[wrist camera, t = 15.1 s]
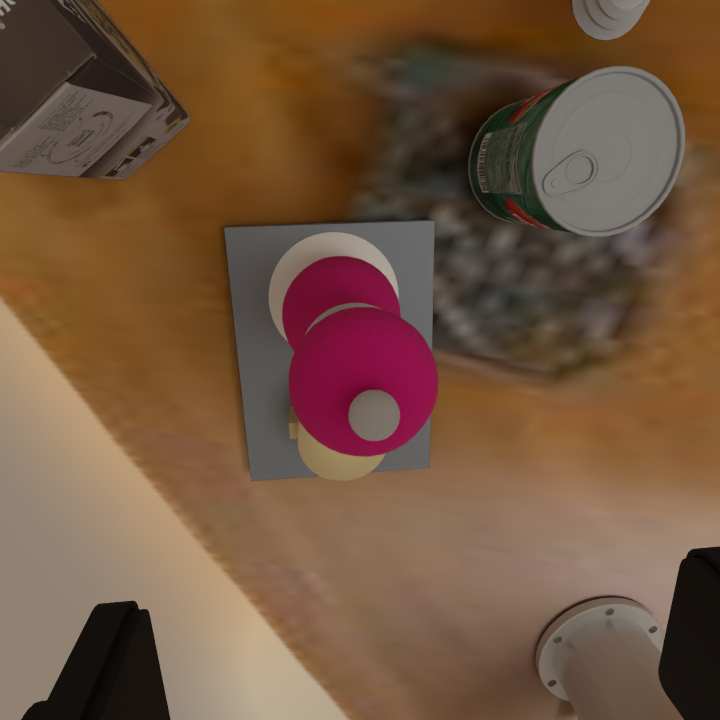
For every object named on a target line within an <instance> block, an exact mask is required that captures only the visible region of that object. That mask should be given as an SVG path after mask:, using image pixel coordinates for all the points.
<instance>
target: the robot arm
mask: <svg viewBox="0 0 720 720" xmlns="http://www.w3.org/2000/svg"><path fill="white" fill-rule="evenodd" d="M663 641H664V643H663ZM535 657H536V668H537V672H538V674H539V676H540V678H541V680H542V682H543V684H544V686H545V687H546V688H547V690H548V691H549V692H551V693H552V694H553V695H554V696H556V697H558V698H560V699H562V700H564V701H568V702H570V703H571V705H572V706H573V708H574V710H575V712H576V714H577V716H578V719H579V720H720V547H709V548H698V549H692V550H691V551H689V552H688V554H687V557H686V559H683V560H682V561H681V564H680V567H679V572H678V577H677V581H676V586H675V591H674V596H673V601H672V605H671V610H670V615H669V620H668V624H667V629H666V634H665V639H663V632H662V629H661V627H660V625H659V623H658V621H657V620H656V619H655V618H654V616H653V615H652V614H651V612H649V611H648V610H647V609H646V608H645V607H644V606H642V605H641V604H639V603H637V602H635V601H631V600H628V599H624V598H600V599H596V600H591V601H588V602H585V603H583V604H580V605H577V606H576V607H574V608H572V609H570V610H568V611H567V612H565V613H564V614H563V615H561V616H560V617H558V618H557V619H556V620H555V621H554V622H553V623H552V624H551V625H550V626H549V627H548V629H547V630H546V632H545V633H544V634H543V636H542V638H541V640H540V642H539V644H538V647H537V651H536V656H535ZM21 720H170V715H169V710H168V705H167V700H166V695H165V690H164V685H163V680H162V675H161V670H160V665H159V660H158V655H157V649H156V645H155V640H154V634H153V629H152V624H151V619H150V615H149V611H148V610H147V609H142V610H139V608H138V605H137V603H136V602H135V601H125V602H114V603H103V604H98V605H97V606H95V608H94V609H93V611H92V612H91V615H90V616H89V618H88V620H87V622H86V624H85V626H84V628H83V630H82V632H81V634H80V636H79V638H78V640H77V642H76V644H75V646H74V648H73V650H72V652H71V654H70V656H69V658H68V660H67V662H66V664H65V666H64V668H63V670H62V672H61V674H60V676H59V678H58V680H57V682H56V684H55V686H54V688H53V690H52V692H51V694H50V696H49V698H48V699H47V701H40V702H37V703H34V704H33V705H32V706H31V707H30V708H29V709H28V710H27V712H26V713H25V715H24V716H23V718H22V719H21Z"/></svg>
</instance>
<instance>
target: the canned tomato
mask: <svg viewBox="0 0 720 720" xmlns="http://www.w3.org/2000/svg"><path fill="white" fill-rule="evenodd" d="M684 148H685V127H684V122H683V117H682V113H681V110H680V108H679V106H678V103H677V101H676V99H675V97H674V96H673V94H672V93H671V91H670V90H669V89H668V87H667V86H666V85H665V84H664V83H663V82H661V81H660V80H659V79H658V78H657V77H656V76H654V75H652V74H650V73H648V72H646V71H644V70H642V69H638V68H633V67H629V66H611V67H607V68H602V69H598V70H595V71H592V72H590V73H588V74H586V75H584V76H582V77H579V78H576V79H574V80H572V81H569V82H567V83H564V84H561V85H559V86H556V87H554V88H552V89H548V90H546V91H543V92H541V93H538V94H536V95H534V96H531V97H529V98H526V99H524V100H521V101H519V102H516V103H511V104H509V105H507V106H505V107H503V108H501V109H500V110H498V111H497V112H496V113H494V114H493V115H491V116H490V117H489V118H488V120H487V121H486V122H485V123H484V124H483V125H482V126H481V128H480V130H479V131H478V133H477V134H476V136H475V138H474V141H473V143H472V146H471V149H470V154H469V158H468V176H469V183H470V186H471V189H472V191H473V194H474V196H475V197H476V199H477V201H478V202H479V204H480V205H481V206H482V207H483V208H484V209H485V210H486V211H487V212H489V213H490V214H491V215H493V216H494V217H496V218H499V219H501V220H503V221H508V222H513V223H521V224H527V225H532V226H538V227H543V228H549V229H554V230H560V231H565V232H571V233H576V234H578V235H584V236H589V237H601V236H610V235H614V234H618V233H622V232H624V231H626V230H628V229H630V228H632V227H635V226H636V225H638V224H639V223H640V222H642V221H643V220H645V219H646V218H648V217H649V216H650V215H651V214H652V213H653V212H654V211H655V210H656V209H657V208H658V207H659V206H660V205H661V203H662V202H663V201H664V199H665V198H666V196H667V195H668V194H669V192H670V190H671V188H672V186H673V185H674V183H675V181H676V179H677V176H678V173H679V170H680V167H681V164H682V161H683V155H684Z"/></svg>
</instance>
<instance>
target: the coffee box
mask: <svg viewBox="0 0 720 720" xmlns="http://www.w3.org/2000/svg"><path fill="white" fill-rule="evenodd" d="M190 119H191V118H190V115H189V114H188V112H187V111H186V110H185V109H184V107H183V106H182V105H181V104H180V102H179V101H178V100H177V99H176V97H175V96H174V95H173V94H172V92H171V91H170V90H169V89H168V87H167V86H166V85H165V84H164V83H163V81H162V80H161V79H160V78H159V77H158V75H157V74H156V73H155V72H154V70H153V69H152V68H151V67H150V66H149V64H148V63H147V62H146V61H145V59H144V58H143V57H142V56H141V55H140V53H139V52H138V51H137V50H136V48H135V47H134V46H133V45H132V43H131V42H130V41H129V40H128V38H127V37H126V36H125V35H124V33H123V32H122V31H121V30H120V29H119V27H118V26H117V25H116V24H115V22H114V21H113V20H112V19H111V18H110V16H109V15H108V14H107V13H106V11H105V10H104V9H103V8H102V6H101V5H100V4H99V3H98V2H97V0H0V172H13V173H26V174H41V175H54V176H68V177H84V178H97V179H113V180H125V179H126V178H127V177H129V176H130V175H131V174H132V173H133V172H134V171H136V170H137V169H138V168H139V167H140V166H141V165H142V164H143V163H145V162H146V161H147V160H148V159H149V158H150V157H152V156H153V155H154V154H155V153H156V152H157V151H158V150H159V149H161V148H162V147H163V146H164V145H165V144H166V143H167V142H169V141H170V140H171V139H172V138H173V137H174V136H175V135H176V134H177V133H179V132H180V131H181V130H182V129H183V128H184V127H185V126H186V125H187V124H188V123H189V122H190Z"/></svg>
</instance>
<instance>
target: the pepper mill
mask: <svg viewBox="0 0 720 720" xmlns="http://www.w3.org/2000/svg"><path fill="white" fill-rule="evenodd" d="M282 321H283V327H284V332H285V335H286V337H287V340H288V343H289V345H290V346H291V348H292V349H293V351H294V352H295V353H294V355H293V357H292V360H291V364H290V369H289V395H290V399H291V402H292V406H293V409H294V412H295V414H296V416H297V418H298V420H299V422H300V423H301V424H302V426H303V427H304V428H305V430H306V431H307V432H308V433H309V434H310V435H311V436H312V437H313V438H314V439H315V440H317V441H318V442H319V443H321V444H322V445H324V446H326V447H327V448H329V449H331V450H334V451H336V452H339V453H341V454H346V455H351V456H361V457H370V456H376V455H382V454H385V453H388V452H390V451H393V450H395V449H397V448H399V447H400V446H402V445H404V444H406V443H407V442H408V441H409V440H410V439H412V438H413V437H414V436H415V435H416V434H417V433H418V431H419V430H420V429H421V428H422V427H423V426H424V425H425V423H426V421H427V420H428V418H429V416H430V415H431V412H432V410H433V407H434V405H435V402H436V398H437V390H438V374H437V367H436V363H435V360H434V358H433V355H432V352H431V350H430V348H429V346H428V344H427V342H426V340H425V339H424V338H423V336H422V335H421V334H420V332H419V331H418V330H417V329H416V328H415V327H413V326H412V325H411V324H409V323H408V322H407V321H405V320H404V319H402V318H401V312H400V305H399V301H398V297H397V295H396V293H395V291H394V288H393V286H392V285H391V283H390V282H389V280H388V279H387V277H386V276H385V275H384V274H383V273H382V272H381V271H380V270H379V269H377V268H376V267H375V266H373V265H372V264H370V263H368V262H366V261H364V260H362V259H358V258H354V257H349V256H333V257H326V258H323V259H320V260H318V261H316V262H314V263H312V264H311V265H309V266H308V267H306V268H305V269H304V270H302V271H301V272H300V273H299V274H298V275H297V276H296V278H295V279H294V280H293V281H292V283H291V284H290V286H289V288H288V290H287V292H286V295H285V298H284V302H283V307H282Z"/></svg>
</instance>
